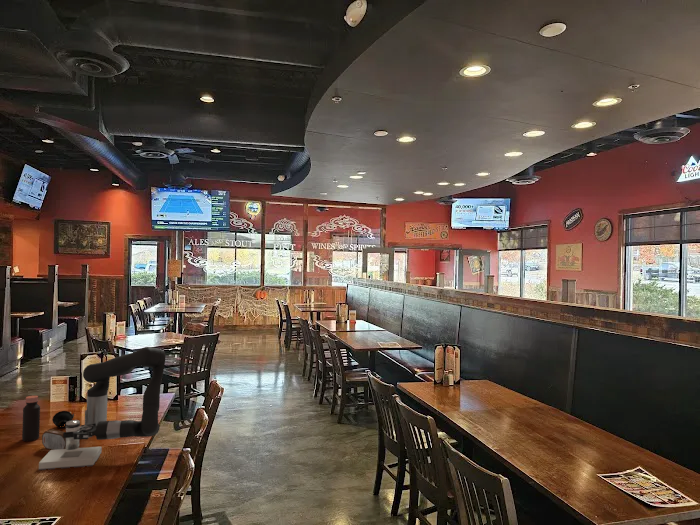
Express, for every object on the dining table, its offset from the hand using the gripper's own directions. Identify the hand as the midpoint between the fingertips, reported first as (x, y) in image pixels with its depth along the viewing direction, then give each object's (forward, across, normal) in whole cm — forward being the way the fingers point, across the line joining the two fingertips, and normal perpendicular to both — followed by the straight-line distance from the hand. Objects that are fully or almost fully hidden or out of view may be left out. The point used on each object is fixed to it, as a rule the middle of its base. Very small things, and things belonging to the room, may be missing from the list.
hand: (65, 432), depth 203 cm
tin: (+8, -16, +12) cm, 22 cm away
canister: (-3, 0, +6) cm, 7 cm away
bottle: (+24, -32, +12) cm, 42 cm away
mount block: (-2, 0, +12) cm, 12 cm away
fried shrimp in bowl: (+15, -53, +12) cm, 56 cm away
